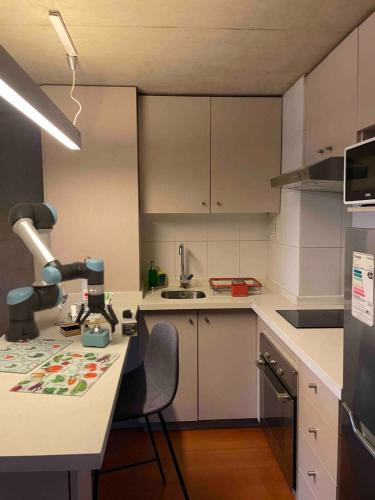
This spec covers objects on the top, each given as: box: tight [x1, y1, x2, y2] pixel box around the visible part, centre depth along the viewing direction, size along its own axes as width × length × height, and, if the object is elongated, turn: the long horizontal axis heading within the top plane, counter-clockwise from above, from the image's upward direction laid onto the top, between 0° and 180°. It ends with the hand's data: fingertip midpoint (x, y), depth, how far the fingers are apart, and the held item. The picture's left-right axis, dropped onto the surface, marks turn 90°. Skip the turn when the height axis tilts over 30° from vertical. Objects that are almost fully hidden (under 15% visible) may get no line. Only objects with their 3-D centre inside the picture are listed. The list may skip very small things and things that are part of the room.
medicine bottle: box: [120, 309, 138, 338], centre depth 182 cm, size 7×7×12 cm
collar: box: [81, 327, 110, 348], centre depth 170 cm, size 10×10×5 cm
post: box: [92, 324, 102, 334], centre depth 169 cm, size 8×8×9 cm
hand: (97, 338), depth 170 cm, fingers open, 13 cm apart
